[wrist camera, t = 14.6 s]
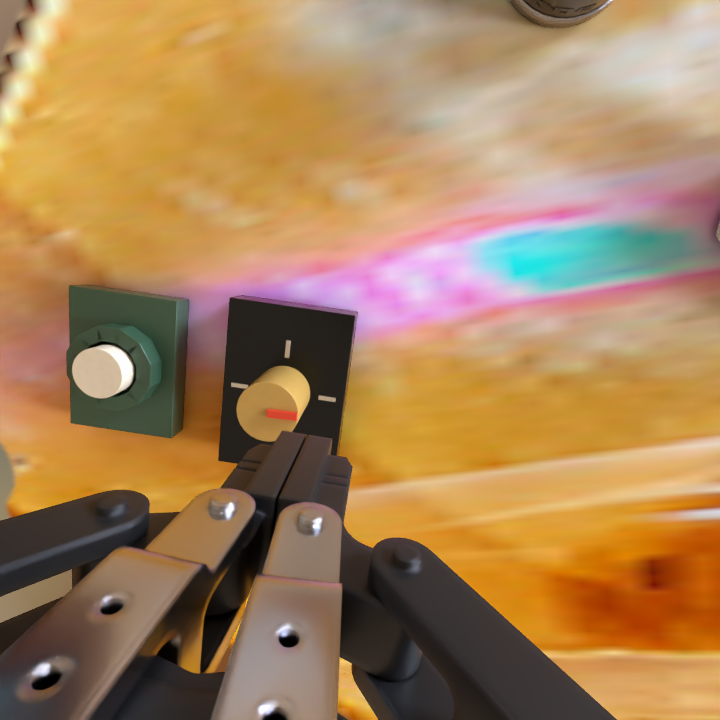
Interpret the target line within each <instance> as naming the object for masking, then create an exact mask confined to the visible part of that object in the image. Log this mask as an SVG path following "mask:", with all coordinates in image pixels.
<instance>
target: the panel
mask: <svg viewBox="0 0 720 720" xmlns="http://www.w3.org/2000/svg"><path fill="white" fill-rule="evenodd" d="M357 315H358V312H356V311H349V310H342V309H335V308H328V307H321V306H314V305H307V304H300V303H293V302H286V301H279V300H272V299H265V298H258V297H252V296H245V295H241V296H236V297H231V298H230V301H229V316H228V330H227V344H226V358H225V373H224V387H223V401H222V415H221V430H220V444H219V458H218V460H219V461H224V462H231V463H237V464H239V462H240V461H242V458H243V457H244V455H245V454H246V453H247V451H248V450H250V449H252V448H253V447H255V446H257V445H259V444H267V445H273V444H274V442H275V441H271V442H268V441H261V440H258V439H256V438H254V437H252V436H250V435H249V434H248V433H247V432H246V431H245V430H244V429H243V428H242V426H241V425H240V423H239V421H238V417H237V411H236V408H237V402H238V399H239V397H240V395H241V394H242V393H243V391H244V390H245V389H246V388H248V387H249V386H250V385H251V384H252V383H253V382H254V381H255V380H257V379H258V378H259V377H260V376H261V375H262V374H263V373H264V372H266V371H267V370H268V369H270V368H273V367H276V366H288V367H292V368H294V369H296V370H298V371H299V372H300V373H301V374H302V375H303V376H304V377H305V378H306V380H307V382H308V384H309V387H310V399H309V402H308V404H307V406H306V408H305V410H304V412H303V414H302V415H301V417H300V419H299V421H298V423H297V425H296V426H295V428H294V430H293V431H292V432H295V433H301V434H306V435H307V436H308V435H313V436H319V437H325V438H331V439H332V447H331V454H330V455H334V456H338V453H339V446H340V439H341V431H342V424H343V417H344V410H345V402H346V395H347V388H348V380H349V373H350V366H351V359H352V351H353V344H354V337H355V329H356V322H357Z"/></svg>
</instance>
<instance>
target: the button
mask: <svg viewBox="0 0 720 720" xmlns="http://www.w3.org/2000/svg"><path fill="white" fill-rule="evenodd" d="M72 374H73V378H74V381H75V383H76V384H77V386H78V387H79V388H80V389H81V390H82V391H83V392H84V393H85V394H87V395H89V396H91V397H94V398H108V397H111V396H113V395H115V394H117V393H119V392H121V391H123V390H125V389H127V388H128V387H129V386H130V385H131V384H132V382H133V380H134V376H135V367H134V363H133V361H132V359H131V357H130V356H129V355H128V353H127V352H126V351H124V350H123V349H121V348H120V347H118V346H115V345H110V344H105V345H100V346H96V347H93V348H89V349H86V350H84V351H82V352H80V353H79V354H78V355H77V356H76V358H75V360H74V362H73V366H72Z"/></svg>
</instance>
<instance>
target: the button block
mask: <svg viewBox="0 0 720 720" xmlns="http://www.w3.org/2000/svg"><path fill="white" fill-rule="evenodd" d="M188 310H189V299H184V298H177V297H170V296H163V295H156V294H149V293H143V292H136V291H129V290H122V289H115V288H108V287H101V286H94V285H70V286H69V323H70V347H69V349H68V350H67V376H68V377H69V379H70V402H71V423H74V424H80V425H87V426H93V427H100V428H107V429H113V430H120V431H126V432H133V433H139V434H146V435H153V436H159V437H166V438H172V437H173V436H175V435H176V434H177V433H178V432H180V431H181V430H182V429H183V411H184V391H185V371H186V350H187V330H188ZM105 344H110V345H115V346H118V347H120V348H121V349H123V350H124V351H126V352H127V353H128V355H129V356H130V357H131V359H132V361H133V363H134V367H135V376H134V380H133V382H132V384H131V385H130V386H129V387H128V388H127V389H125V390H123V391H121V392H119V393H117V394H115V395H113V396H111V397H108V398H94V397H91V396H89V395H87V394H85V393H84V392H83V391H82V390H81V389H80V388H79V387H78V386H77V384H76V383H75V381H74V378H73V374H72V366H73V362H74V360H75V358H76V356H77V355H78V354H79V353H80V352H82V351H84V350H86V349H89V348H93V347H96V346H100V345H105Z"/></svg>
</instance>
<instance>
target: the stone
mask: <svg viewBox="0 0 720 720" xmlns="http://www.w3.org/2000/svg"><path fill="white" fill-rule="evenodd" d="M716 237H717V238H718V240H719V242H720V222H719V226H718V229H717V233H716Z"/></svg>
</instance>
